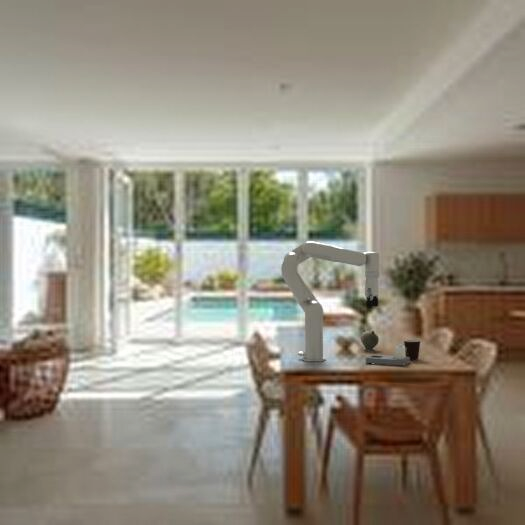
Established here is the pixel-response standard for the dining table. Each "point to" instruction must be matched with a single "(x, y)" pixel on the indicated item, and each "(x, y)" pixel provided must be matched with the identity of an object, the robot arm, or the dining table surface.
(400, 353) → the plug
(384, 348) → the dining table surface
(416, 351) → the coffee mug
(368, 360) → the panel
